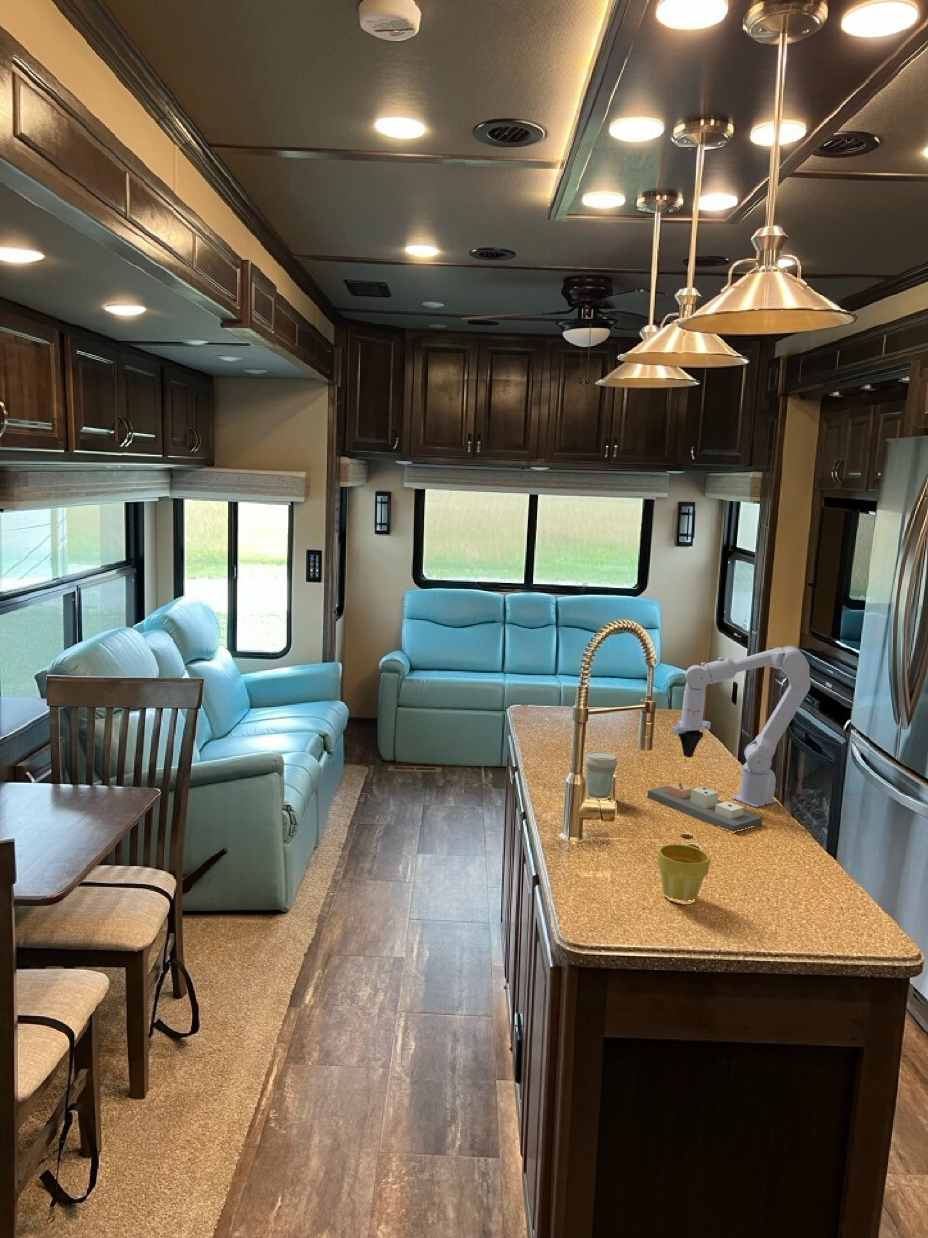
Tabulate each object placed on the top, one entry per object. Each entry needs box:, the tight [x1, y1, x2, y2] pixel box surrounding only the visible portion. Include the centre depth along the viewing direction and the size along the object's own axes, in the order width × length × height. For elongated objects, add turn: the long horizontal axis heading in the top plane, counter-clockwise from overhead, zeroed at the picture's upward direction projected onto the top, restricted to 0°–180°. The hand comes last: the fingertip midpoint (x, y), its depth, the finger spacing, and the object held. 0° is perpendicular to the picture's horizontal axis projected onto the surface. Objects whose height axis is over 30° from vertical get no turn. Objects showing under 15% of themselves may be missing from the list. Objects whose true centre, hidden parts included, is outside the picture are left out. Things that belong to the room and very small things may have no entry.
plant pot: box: [657, 843, 711, 901], centre depth 187 cm, size 10×10×10 cm
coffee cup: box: [585, 750, 618, 798], centre depth 242 cm, size 8×8×12 cm
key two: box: [690, 786, 720, 809], centre depth 238 cm, size 5×5×4 cm
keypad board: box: [646, 785, 763, 832], centre depth 239 cm, size 12×28×2 cm, turn 37°
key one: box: [715, 801, 745, 819], centre depth 232 cm, size 5×5×4 cm
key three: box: [666, 781, 695, 799], centre depth 245 cm, size 5×5×4 cm
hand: (687, 756), depth 251 cm, fingers closed
